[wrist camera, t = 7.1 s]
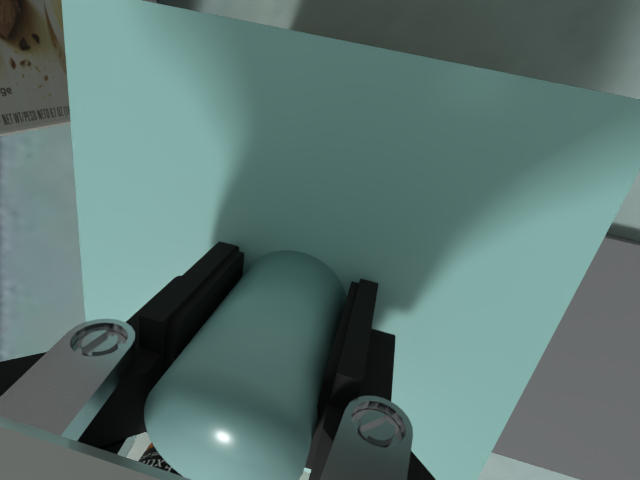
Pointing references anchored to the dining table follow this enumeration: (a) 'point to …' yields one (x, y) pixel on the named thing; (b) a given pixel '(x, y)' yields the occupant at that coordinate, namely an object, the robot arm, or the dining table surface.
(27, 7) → the coffee box
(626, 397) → the mat
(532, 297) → the lid
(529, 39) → the dining table surface
